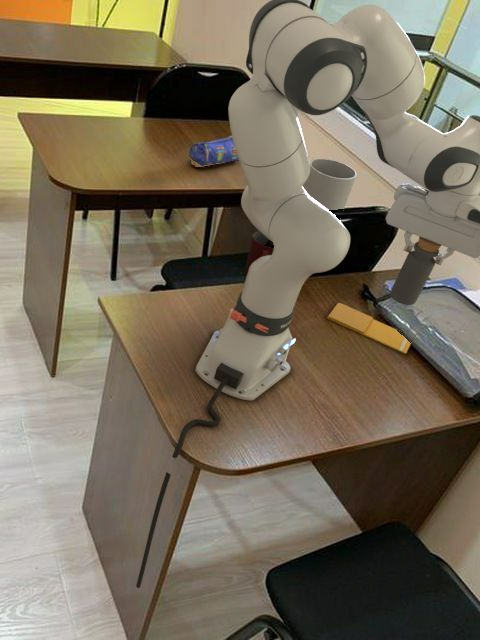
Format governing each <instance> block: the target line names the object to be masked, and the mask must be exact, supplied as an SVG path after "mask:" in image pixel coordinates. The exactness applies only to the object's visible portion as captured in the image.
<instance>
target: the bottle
mask: <svg viewBox="0 0 480 640" xmlns="http://www.w3.org/2000/svg"><path fill="white" fill-rule="evenodd" d="M441 246H442V245H440V244H437V243H435V242H432V241H430V240H427V239H425V238H422V237H419V236H418V241H415V243H414V246H413V250H411V252H410V253H409V252H408V254H407V255H406V257H405V260H404V262H403V264H402V265H401V268H400V269H399V270H400V271H399V272H398V274H397V277H396V279H395V281H394V283H393V285H392V287H391V289H390V291H389V295H390V297H391V299H392V300H394V301H395V302H397V303H399V304H401V305H404V306H405V305H406V306H413V305H415V304H416V302H417V301H418V299H419V297H420V295H421V293H422V291H423V290H424V287H425V285H426V283H427V282H428V279H429V277H430V276H431V273H432V271H433V269H434V268H435V266H436V263H434V261H435V259H436V257H437V255H438V254H439V253H440V249H441Z"/></svg>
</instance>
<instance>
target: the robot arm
mask: <svg viewBox="0 0 480 640" xmlns="http://www.w3.org/2000/svg"><path fill="white" fill-rule="evenodd" d="M245 66H246V68H247V70H248V71H249V73H251V75H252V76H251V78H250V80H248V81H246V82H245V83H243V84H242V85H241V86H239V87H238V88H237V89H236V90H235V91H234V93H233V94H232V96H231V97H230V99H229V103H228V109H227V110H228V120H229V121H228V122H229V128H230V133H231V136H232V138H233V142H234V146H235V149H236V152H237V155H238V158H239V160H240V161H239V163H240V167H241V168H242V172H243V174H244V177H245V180H246V183H247V185H246V187H244V190H243V192H242V195H241V198H240V201H241V202H240V206H241V208H242V211H243V213H244V214H245V216H246V217H247V218H248V220H249V222H250V223H251V225H253V227H254V228H255V229H256V230H257V231H258V230H259V231H260V232H261V233H263V234H264V235H265V236H266V237H267V238H268V239H269V240H270V241H272V242H273V245H274V250H273V254H272V255H267V256H263V257H260V258H259V259H257V260H256V261H254V262H253V263H252V264H251V266H250V267H249V270H248V274H247V275H246V276H245V277H246V278H245V281H244V284H243V288H242V291H240V293H239V295H238V297H237V299H236V302H235V303H234V307H232V308H230V311H229V315H228V317H227V319H226V320H225V323H224V324H223V326H222V327H221V328H219V329H218V330H215V331H214V332H213V334H212V336H211V338H210V340H209V342H208V343H207V345H206V347H205V349H204V351H203V352H202V355H201V357H200V358H199V361H198V362H197V364H196V366H195V369H194V371H195V373H196V375H198V376H199V378H201V380H203V381H204V382H205V383H207V384H208V385H210V386H211V387H213V388H214V389H216V390H215V391H214V393H213V395H212V396H211V398H210V399H209V401H208V404H207V410H208V413H209V414H210V416H212V418H213V419H214V420H206V419H201V418H200V419H199V418H197V419H193V420H191V421H189V422H188V423H186V425H184V426H183V428H182V430H181V432H180V435H179V439H178V441H177V444H176V447H175V449H174V451H173V452H172V458H173V459H177V458H178V457H179V455H180V452H181V450H182V449H183V445H184V443H185V439H186V437H187V433H188V432H189V430H190V429H191V428H192V427H194V426H196V425H201V426H208V427H216V426H218V425H219V424H220V422H221V419H220V415H218V414H217V413H216V411H215V410H214V408H213V406H214V403H215V402H216V401H217V399H218V397H219V396H220V394H221V393H224V394H226V395H228V396H230V397H232V398H233V397H234V398H235V399H239V400H243V401H254V400H256V399H257V398H258V397H260V396H261V395H263V393H265V392H266V391H268V390H269V389H270V388H271V387H273V386H274V385H275V384H277V383H278V382H279V381H280V380H282V379H283V378H285V377H286V376H287V375H288V374H289V373H290V372H291V365H290V364H289V362H288V361H287V358H288V355H289V351H290V348H291V346H292V345H293V344H295V342H296V340H297V339H296V338H293V336H292V334H291V330H290V325H291V323H292V321H293V319H294V313H295V306H296V303H297V301H298V297H299V295H300V292H301V290H302V287H303V285H304V284H305V282H306V281H307V280H308V279H309V278H310V277H311V276H312V275H313V274H317V273H318V274H319V273H324V272H328V271H331V270H332V269H334V268H336V267H337V266H338V265H339V264H340V263H341V262H342V261H343V260H344V259H345V258H346V256H347V254H348V251H349V249H350V247H351V246H350V245H351V234H350V232H349V230H348V229H347V227H345V225H344V224H343V222H342V221H341V219H340V220H339V219H338V218H337V217H336V215H335V214H333V213H332V212H331V211H329V210H328V209H327V208H325V207H324V206H323V205H321V204H320V203H319V202H317V201H316V200H315V199H313V198H312V197H311V196H310V195H309V194H308V193H307V192H306V191H305V189H304V188H303V185H304V183H305V182H306V180H307V178H308V176H309V174H310V162H311V161H310V159H309V154H308V151H307V146H306V143H305V139H304V138H305V137H304V135H303V131H302V128H301V124H300V121H299V111H301V112H303V114H307V115H309V116H321V115H326V114H328V113H330V112H332V111H334V110H336V109H337V108H339V107H340V106H342V105H343V104H344V103H345V102H346V101H348V100H349V99H350V98H351V97H352V98H353V100H355V102H356V104H357V105H358V106H359V108H360V109H361V110H362V112H363V113H364V115H365V117H366V118H367V121H368V122H369V125H370V126H371V128H372V130H373V132H374V136H375V144H376V145H375V146H376V152H377V153H376V154H377V156H378V158H379V159H380V161H381V162H382V163H384V164H386V165H387V166H389V167H391V168H393V169H396V170H397V171H398V172H400V173H401V174H403V175H404V176H406V177H407V178H409V179H410V180H411V181H413V182H414V183H416V184H417V185H419V186H417V185H414V184H412V183H406V184H404V183H403V184H400V185H399V186H398V187H397V188H396V190H395V192H394V194H393V200H394V201H393V204H392V205H391V206H390V208H389V210H388V212H387V214H386V216H385V221H386V224H387V225H389V226H392V227H394V228H396V229H399V230H402V231H405V233H404V235H403V237H404V243H405V246H404V247H403V251H404V252H406V253H408V254H409V253H410V252H411V251H413V249H414V245H415V243H414V242H412V236H413V235H414V236H417V237H418V238H419V237H422V238H425V239H427V240H430V241H432V242H435V243H437V244H440V245H441V246H442V247H445V248H446V251H445V252H444V253H443V254H441V253H440V252H439V253H438V255H437V256H436V257H435V258H434V259H435V261H434V263H435V265H439V266H441V265H442V264H443V262H444V260H446V259H447V258H449V257H451V256H452V255H453V254H454V252H458V253H460V254H463V255H466V256H468V257H471V258H473V259H478V258H479V257H480V116H479V115H475V114H471V115H467V116H466V117H465V118H464V120H463V121H462V122H461V124H460V126H458V127H456V128H455V129H453V130H450V131H448V132H445V133H443V132H441V131H440V130H438V129H436V128H434V127H432V125H429V124H427V123H426V122H424V121H423V120H422V119H420V118H419V117H417V116H416V115H414V114H412V113H409V112H406V111H408V110H410V108H411V107H412V106H414V105H415V103H416V102H417V101H418V99H419V98H420V96H421V94H422V93H423V90H424V87H425V85H426V75H425V70H424V67H423V63H422V60H421V59H420V55H418V53H417V51H416V48H415V47H414V44H413V43H412V41H411V40H410V38H409V36H408V35H407V34H406V32H405V30H404V29H403V28H402V26H401V25H400V24H399V23H398V22H397V21H396V19H395V18H394V17H393V16H392V15H391V14H390V13H389V12H388V11H387V9H385V8H383V7H381V6H380V5H375V4H363V5H359V6H357V7H355V8H353V9H351V10H349V11H348V12H347V13H345V14H344V15H343V16H341V18H340V19H339V20H338V21H337V22H335V23H329V22H328V21H327V20H325V19H324V18H323V17H322V16H321V15H320V14H319V13H318V12H316V11H314V10H312V8H311V7H310V6H309V5H308V4H307V3H305V2H303V1H301V0H269V1H268V2H267V3H265V4H264V5H263V6H262V7H261V8H259V10H258V11H257V12H256V14H255V16H254V17H253V20H252V22H251V25H250V29H249V35H248V51H247V54H246V59H245ZM170 478H171V473H169V472H168V471H166V472H165V475H164V478H163V480H162V484H161V487H160V491H159V494H158V497H157V501H156V505H155V508H154V512H153V515H152V519H151V522H150V523H151V524H150V527H149V530H148V535H147V540H146V543H145V547H144V551H143V557H142V561H141V565H140V569H139V573H138V577H137V580H136V585H135V587H136V588H137V589H140V588H141V585H142V582H143V578H144V574H145V570H146V566H147V563H148V558H149V553H150V550H151V546H152V542H153V538H154V534H155V530H156V525H157V523H158V518H159V514H160V511H161V508H162V504H163V501H164V499H165V494H166V491H167V488H168V484H169V482H170V480H171V479H170Z"/></svg>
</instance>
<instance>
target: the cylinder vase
mask: <svg viewBox="0 0 480 640" xmlns="http://www.w3.org/2000/svg"><path fill="white" fill-rule="evenodd" d="M309 162H310V174H309V176H308V178H307V180H306V182H305V183H304V185H303V186H302V187H303V188H304V189H305V191H306V192H307V193H308V194H309V195H310V196H311V197H312V198H313V199H315V200H316V201H317V202H319V203H320V204H321V205H323V206H324V207H325V208H327V209H328V210H338V209H344V210H345V208H346V205H347V202H348V199H349V197H350V194H351V192H352V188H353V187H354V184H355V181H356V179H357V178H356V177H357V176H358V175H357V173H358V172H357V171H356V170H355V169H354V168H352V166H350V165H348V164H346V163H344V162H341V161H339V160H335V159H330V158H315V159H311V161H309Z"/></svg>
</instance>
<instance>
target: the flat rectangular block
mask: <svg viewBox="0 0 480 640" xmlns="http://www.w3.org/2000/svg"><path fill="white" fill-rule="evenodd" d="M326 319H327V320H329V321H332V322H334V323H336V324H338V325H340V326H343V327H344V328H347V329H349V330H351V331H353V332H355V333H358V334H359V335H362V336H364V337H367V338H369V339H371V340H372V341H375V342H377V343H379V344H382V345H384V346H386V347H388V348H390V349H392V350H394V351H396V352H399V353H401V354H403V355H406V354H407V352H408V350H409V349H410V347H411V344H412V342H411V343H410V342H409V341H408V340H407V339H406V338H405V337H404V336H403V335H401V334H400V333H399V332H398V331H397V330H398V329H397V328H394V327H392V326H389V325H387V324H386V323H383V322H382V321H378V320H376V319H374V317H373V316H371V315H369V314H366V313H364V312H362V311H359V310H357V309H355V308H353V307H351V306H348V305H346V304H344V303H341V302H338V303H336V305H335V306H334V307H333V309H332V310H331V312H330V313H329V314H328V316H327V318H326Z"/></svg>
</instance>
